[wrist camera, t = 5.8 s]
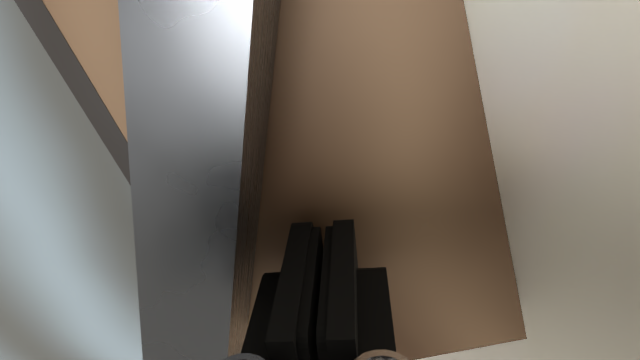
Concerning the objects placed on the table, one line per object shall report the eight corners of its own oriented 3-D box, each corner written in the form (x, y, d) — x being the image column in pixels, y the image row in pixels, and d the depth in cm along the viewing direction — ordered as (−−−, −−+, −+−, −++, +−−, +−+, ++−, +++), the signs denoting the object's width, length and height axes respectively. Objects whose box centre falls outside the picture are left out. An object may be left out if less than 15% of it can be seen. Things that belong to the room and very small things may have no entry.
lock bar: (162, -334, 7) (25, -553, 4) (335, -301, 7) (327, -493, 4) (173, 316, 13) (126, 412, 11) (260, 330, 13) (236, 429, 11)
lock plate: (354, -471, 7) (364, -1048, 3) (510, 303, 15) (571, 433, 11) (-415, 2, 11) (-821, 24, 7) (10, 406, 19) (-79, 524, 15)
